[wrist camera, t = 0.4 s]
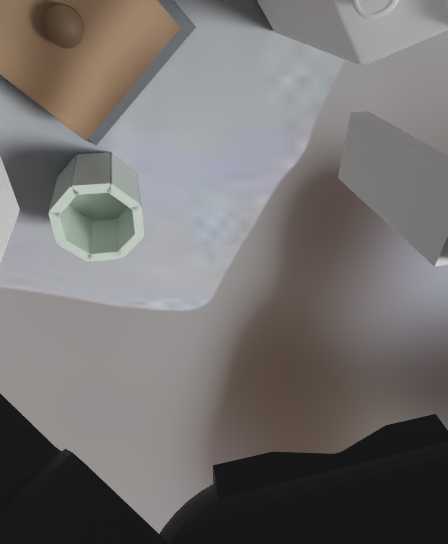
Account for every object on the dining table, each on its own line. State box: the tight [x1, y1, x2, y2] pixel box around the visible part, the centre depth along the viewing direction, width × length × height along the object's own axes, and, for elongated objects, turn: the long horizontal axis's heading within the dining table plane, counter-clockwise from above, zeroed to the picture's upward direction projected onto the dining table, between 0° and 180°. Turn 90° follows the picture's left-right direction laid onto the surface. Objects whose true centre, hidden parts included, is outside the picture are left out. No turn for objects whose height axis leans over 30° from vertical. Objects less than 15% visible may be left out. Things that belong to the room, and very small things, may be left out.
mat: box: [88, 0, 195, 145], centre depth 29 cm, size 14×13×1 cm
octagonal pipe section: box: [48, 152, 144, 262], centre depth 36 cm, size 7×7×7 cm
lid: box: [0, 0, 181, 141], centre depth 27 cm, size 11×11×5 cm
